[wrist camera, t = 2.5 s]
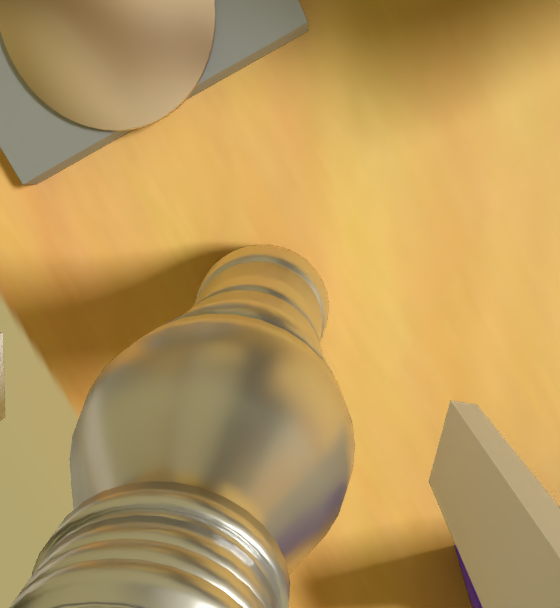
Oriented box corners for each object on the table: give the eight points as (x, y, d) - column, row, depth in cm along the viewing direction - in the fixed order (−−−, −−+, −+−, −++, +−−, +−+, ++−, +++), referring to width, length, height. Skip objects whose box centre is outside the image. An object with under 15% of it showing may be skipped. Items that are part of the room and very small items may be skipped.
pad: (-3, -134, 19) (-10, -141, 18) (227, -104, 19) (225, -110, 18) (4, 115, 22) (-2, 114, 21) (205, 144, 21) (203, 144, 21)
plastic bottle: (186, 271, 24) (-269, 606, 5) (295, 215, 23) (236, 379, 4) (240, 369, 26) (43, 921, 7) (347, 320, 25) (489, 822, 5)
